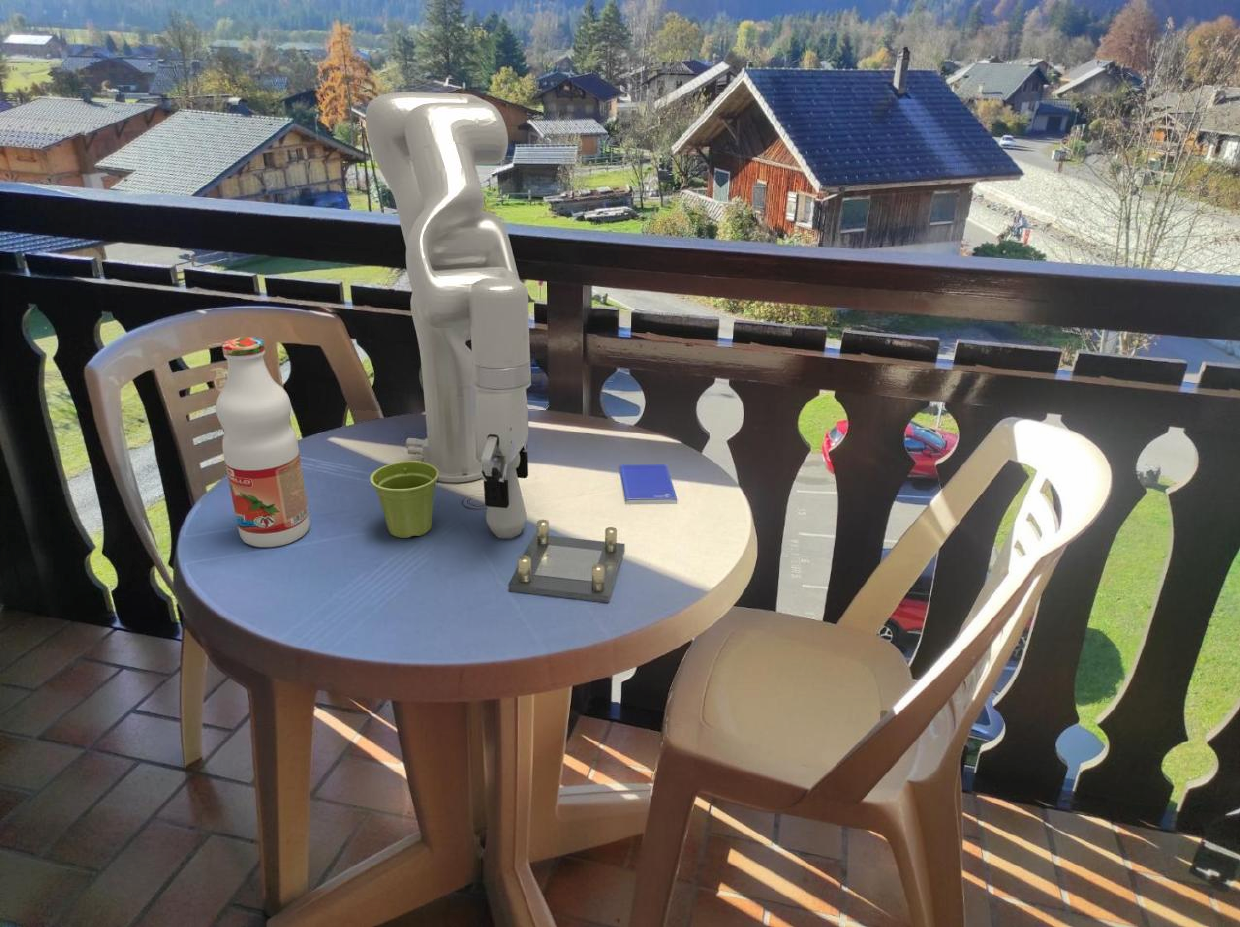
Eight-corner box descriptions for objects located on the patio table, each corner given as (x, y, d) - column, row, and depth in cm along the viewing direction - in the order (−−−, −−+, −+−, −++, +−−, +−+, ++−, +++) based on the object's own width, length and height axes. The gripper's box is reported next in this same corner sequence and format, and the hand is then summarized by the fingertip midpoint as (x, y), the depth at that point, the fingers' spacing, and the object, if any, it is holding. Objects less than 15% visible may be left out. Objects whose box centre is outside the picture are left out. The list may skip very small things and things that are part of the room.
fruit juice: (321, 534, 115) (293, 344, 103) (254, 556, 109) (216, 358, 97) (295, 509, 121) (265, 328, 109) (230, 529, 116) (191, 340, 104)
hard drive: (677, 497, 126) (666, 463, 137) (625, 498, 125) (619, 464, 137) (677, 506, 127) (666, 472, 138) (625, 507, 126) (618, 472, 137)
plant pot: (362, 537, 115) (356, 482, 111) (400, 508, 123) (395, 456, 119) (419, 550, 112) (414, 495, 108) (454, 519, 120) (451, 467, 116)
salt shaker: (482, 525, 119) (478, 444, 113) (520, 518, 121) (518, 439, 115) (493, 544, 114) (489, 461, 108) (532, 537, 116) (530, 455, 110)
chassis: (508, 590, 104) (507, 564, 102) (534, 540, 115) (534, 515, 114) (608, 602, 102) (609, 576, 100) (624, 549, 114) (625, 525, 112)
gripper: (494, 354, 115) (499, 464, 122) (452, 393, 99) (461, 516, 106) (545, 357, 114) (548, 468, 121) (511, 396, 98) (516, 521, 105)
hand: (507, 491), depth 114 cm, fingers open, 9 cm apart
